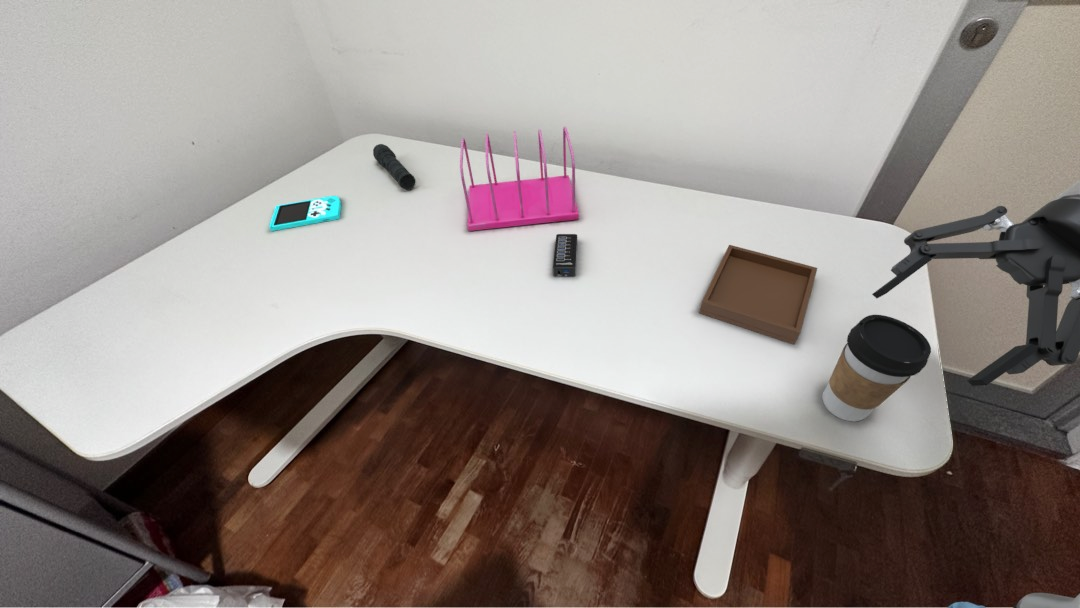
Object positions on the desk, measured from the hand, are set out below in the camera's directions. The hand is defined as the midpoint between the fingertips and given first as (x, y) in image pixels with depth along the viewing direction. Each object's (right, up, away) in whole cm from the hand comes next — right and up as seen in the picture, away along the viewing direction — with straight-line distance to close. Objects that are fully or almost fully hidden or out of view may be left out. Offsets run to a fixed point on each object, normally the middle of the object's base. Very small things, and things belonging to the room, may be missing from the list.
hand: (925, 336), depth 54 cm
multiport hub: (-40, +13, +39) cm, 58 cm away
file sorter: (-50, +27, +55) cm, 79 cm away
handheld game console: (-103, +26, +58) cm, 121 cm away
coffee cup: (-2, -11, +12) cm, 16 cm away
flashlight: (-85, +39, +69) cm, 116 cm away
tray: (-7, +5, +28) cm, 30 cm away
